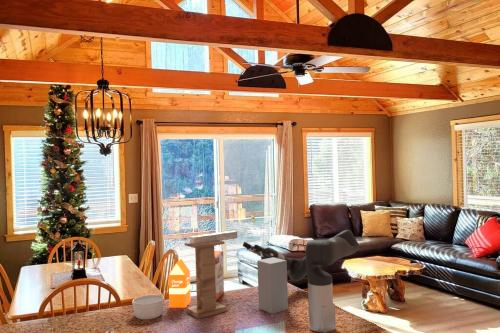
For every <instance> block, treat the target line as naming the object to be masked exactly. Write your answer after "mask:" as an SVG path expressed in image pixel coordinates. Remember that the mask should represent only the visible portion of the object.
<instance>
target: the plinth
mask: <svg viewBox="0 0 500 333" xmlns="http://www.w3.org/2000/svg"><path fill="white" fill-rule="evenodd" d="M256 261H257V262H256V263H257V293H258V296H257V297H258V309H259V310H261V311H265V312H266V313H269V314H277V313H280V312H283V311H286V310H288V309H289V298H288V297H289V294H288V290H289V289H288V271H287V261H286V260H282V259H278V258H274V257H273V258H267V259H258V260H256Z"/></svg>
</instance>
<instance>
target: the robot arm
mask: <svg viewBox="0 0 500 333" xmlns="http://www.w3.org/2000/svg"><path fill="white" fill-rule="evenodd" d="M242 247H244V248H246V250H247V251H249V252H251V253H253V254H255V255H257V256H258V257H260V260H262V259H267V258H273V257H274V258H278V259H282V260H286V261H287V272H288V274H289V275H288V276H289V279H290V280H292V281H294V282H299V281H302V280H303V279H304V278H305V277H306V276H307V294H308V295H307V296H308V297H307V298H308V299H307V300H308V328H309V330H311V331H314V332H317V333H329V332H331V331H335V330H336V329H337V326H336V325H337V324H336V322H337V321H336V304H335V303H334V294H333V292H334V290H333V289H334V288H333V287H334V286H333V276H332V275H331V274H330V273H328V272H326V271H325V270H323V269H322V268H320V266H331V265H333V264H334V263H335V262H336V261H338V260H340V259H341V260H342V258H344V257H348V256H351V255H354V254H355V253H357V252H358V250H359V249H360V245H359V242H358V241H357V239H356V237H355V235H354V233H353V232H352V230H350V229H345V230H343V231H340V232H339V233H337V234H336V235H335V236H333V237H330V238H328V239H327V240H321V239H310V240H307V243H306V245H305V256H304V257H303V258H302V259H301V261H300V260H299V259H297V258H291V257H287V256H286V255H284V254H282V253H281V252H279V251H278V250H275V249H274V248H272V247H269V246H268V247H263V246H260V245H259V244H254V245H252V244H250V243H248V242H246V241H244V242H243V244H242Z"/></svg>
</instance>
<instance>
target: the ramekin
mask: <svg viewBox="0 0 500 333" xmlns="http://www.w3.org/2000/svg"><path fill="white" fill-rule="evenodd" d="M164 302H165V297H164V296H163V295H161V294H144V295H140V296H137V297H134V298H133V299H132V302H131V304H132V308H133V314H134V316H135V318H136V319H138V320H139V319H140V320H151V319H155V318H158V317H160V316H161V315H162V313H163V311H164V310H163V309H164Z"/></svg>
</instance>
